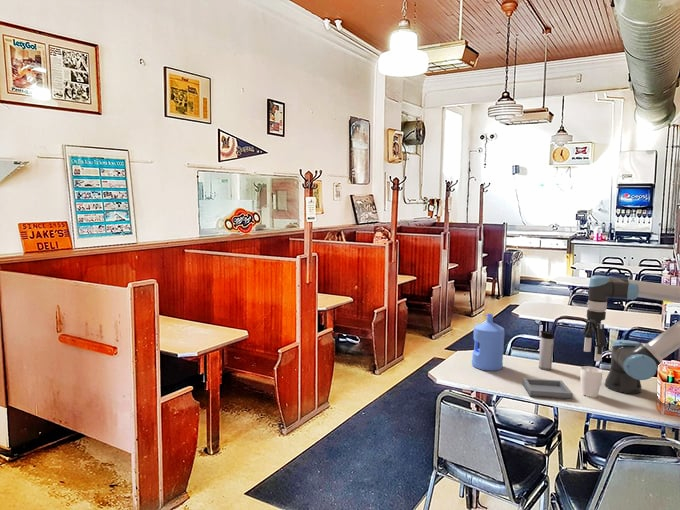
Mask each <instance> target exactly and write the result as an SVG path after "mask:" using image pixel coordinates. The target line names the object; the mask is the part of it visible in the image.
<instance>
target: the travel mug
mask: <svg viewBox="0 0 680 510" xmlns="http://www.w3.org/2000/svg"><path fill="white" fill-rule="evenodd" d="M540 334H541V335H540V342H539V343H540V345H539V346H540V347H539V357H538V368H539V369H540V370H542V371H543V370H544V371H551V370H552V366H553V354H554V340H555V338H554V336H555V333H553V332H551V331H548V330H547V331H546V330H540Z"/></svg>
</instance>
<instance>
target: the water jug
mask: <svg viewBox="0 0 680 510" xmlns="http://www.w3.org/2000/svg"><path fill="white" fill-rule="evenodd" d="M493 319H494V314H492V313H486V321H484V322H481V323H478V324H475V326H474V327H473V340H474V346H473V351H472V357H471V358H472V359H471V365H472V366H473V367H474V368H476V369H479V370H483V371H487V372H489V371H490V372H493V371H496V372H497V371H500V370H502V368H503V365H504V363H503V359H504V350H505V349H504V343H505V328H504V327H503V326H501V325H499V324H497V323H495V322H493V321H494V320H493ZM478 347H479V348H478Z"/></svg>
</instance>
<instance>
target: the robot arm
mask: <svg viewBox="0 0 680 510" xmlns="http://www.w3.org/2000/svg"><path fill="white" fill-rule="evenodd" d="M589 279H590V280H589V283H588V297H587V298H588V300H587V302H586V305H587V310H586V323H585V326H584V330H583V333H582V334H583V336H584V343H583V344H584V346H583V352H587V353H588V352H589V353H591V351H592V350H591V349H592V341H593V334H594V337H595V345H594V346H595V350H594V362H602V360H603V359H602V358H603V349H604V348H606V338H605V337H606V336H605V324H603V323H602V321H604V320H606V313H607V312H606V311H607V305H608V299H620V300H636V299H637V298H642V299H643V298H644V299H649V300H656V301H664V302H669V303H677V304H680V285H673V284H666V283H665V284H664V283H657V282H650V281H643V280H635V279H630V278H629V279H627V278H621V277H620V278H619V277H617V276H611V275H610V276H606V275H599V274H597V275H596V274H595V275H591V276H590V278H589ZM679 348H680V320H678V321H676V322H675V323H674V324H673V325H671V326H670V327H668V328H667V329H666V330H664V331H663V332H661V333H660V334H659V335H657V336H656V337H654V338H653V339H652V340H650V341H648V342H647V343H646V342H645V343H644V342H638V341H635V340H634V341H633V340H628V339H627V340H626V339H616V340H613V342H612V346H611V358H610V359H611V360H610V370H609V372H608V374H607V376H606V378H605V381H604V386H605V388H607V387H608V388H607V389H609V390H611V389H612V390H611V391H614V390H615V391H614V392H617V391H619V392H618V393H621V392H624V393H623V394H627V393H638V394H640V393H642V388H643V387H642V382H641V381H647V380H650V379H651V378H653V377H654V376H655V375H656V373H657V370H658V368H659V367H658V365H659V364H660V363H661V362H662V363H663V359H665V358H666V357H668V356H670V354H672V353H673V352H675V351H676V350H679ZM639 392H640V393H639Z"/></svg>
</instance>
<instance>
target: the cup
mask: <svg viewBox="0 0 680 510" xmlns="http://www.w3.org/2000/svg"><path fill="white" fill-rule="evenodd" d="M579 377H580V389H581V390H580V391H581V392H580V393H581V394H582V395H583V396H584V395H586V396H585V397H587V396H590V397H589V398H597V397H598V395H599V392H600V388H601V385H602V380H603V369H601V368H598V367H595V366H589V365H587V366H585V365H584V366H581V368H580V376H579Z"/></svg>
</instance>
